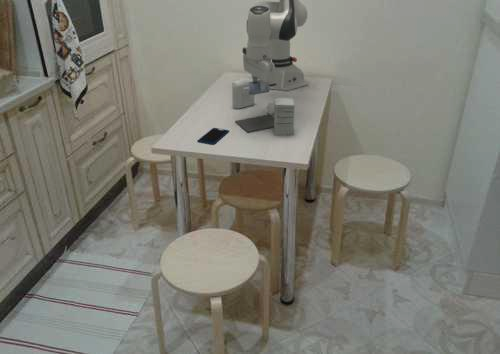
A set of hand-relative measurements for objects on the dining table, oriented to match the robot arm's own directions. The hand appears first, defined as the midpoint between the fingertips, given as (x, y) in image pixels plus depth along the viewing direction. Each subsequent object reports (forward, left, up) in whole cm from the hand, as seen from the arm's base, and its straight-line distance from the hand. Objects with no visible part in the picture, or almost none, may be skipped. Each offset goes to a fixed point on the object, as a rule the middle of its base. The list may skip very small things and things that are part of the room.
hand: (259, 88), depth 185 cm
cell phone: (+21, +3, -16) cm, 26 cm away
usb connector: (0, 0, -2) cm, 2 cm away
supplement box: (-5, +11, -15) cm, 20 cm away
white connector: (-10, -9, -15) cm, 21 cm away
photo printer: (-3, -21, -15) cm, 26 cm away
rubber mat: (0, 0, -15) cm, 15 cm away
